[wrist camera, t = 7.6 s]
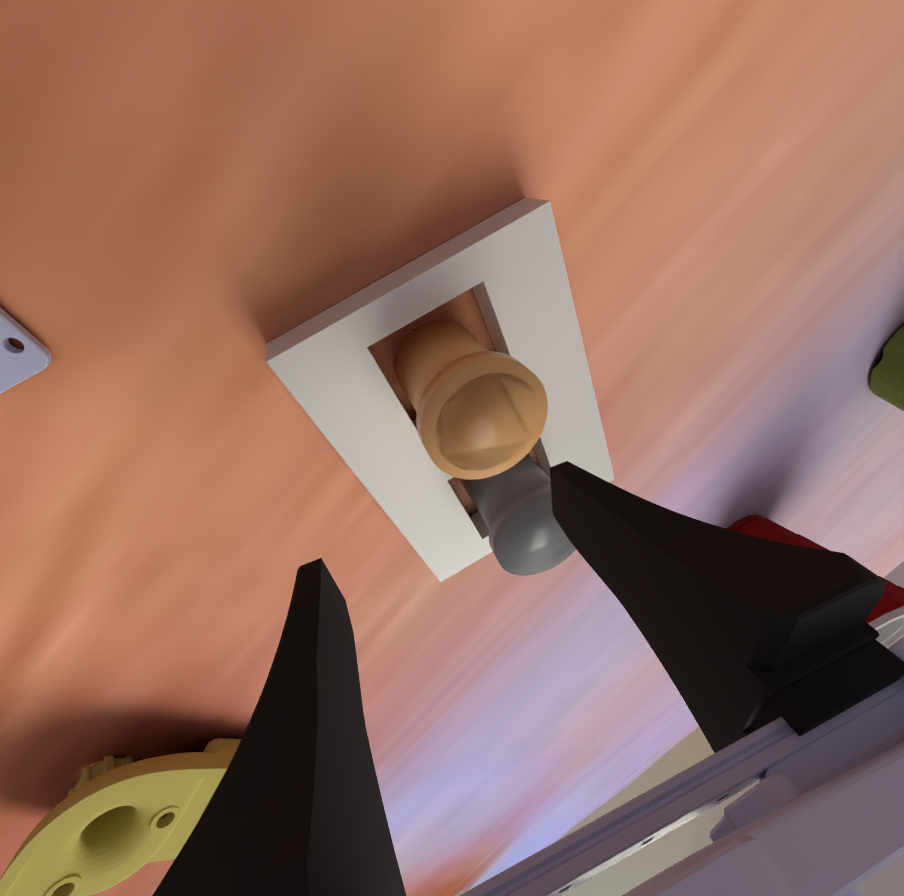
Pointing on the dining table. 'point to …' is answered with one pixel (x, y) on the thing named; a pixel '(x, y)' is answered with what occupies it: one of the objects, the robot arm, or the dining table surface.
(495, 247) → the housing
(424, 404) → the tan rubber stopper
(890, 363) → the plant pot
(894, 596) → the plastic cup
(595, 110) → the dining table surface
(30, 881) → the plastic component
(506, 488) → the charcoal flared cup
